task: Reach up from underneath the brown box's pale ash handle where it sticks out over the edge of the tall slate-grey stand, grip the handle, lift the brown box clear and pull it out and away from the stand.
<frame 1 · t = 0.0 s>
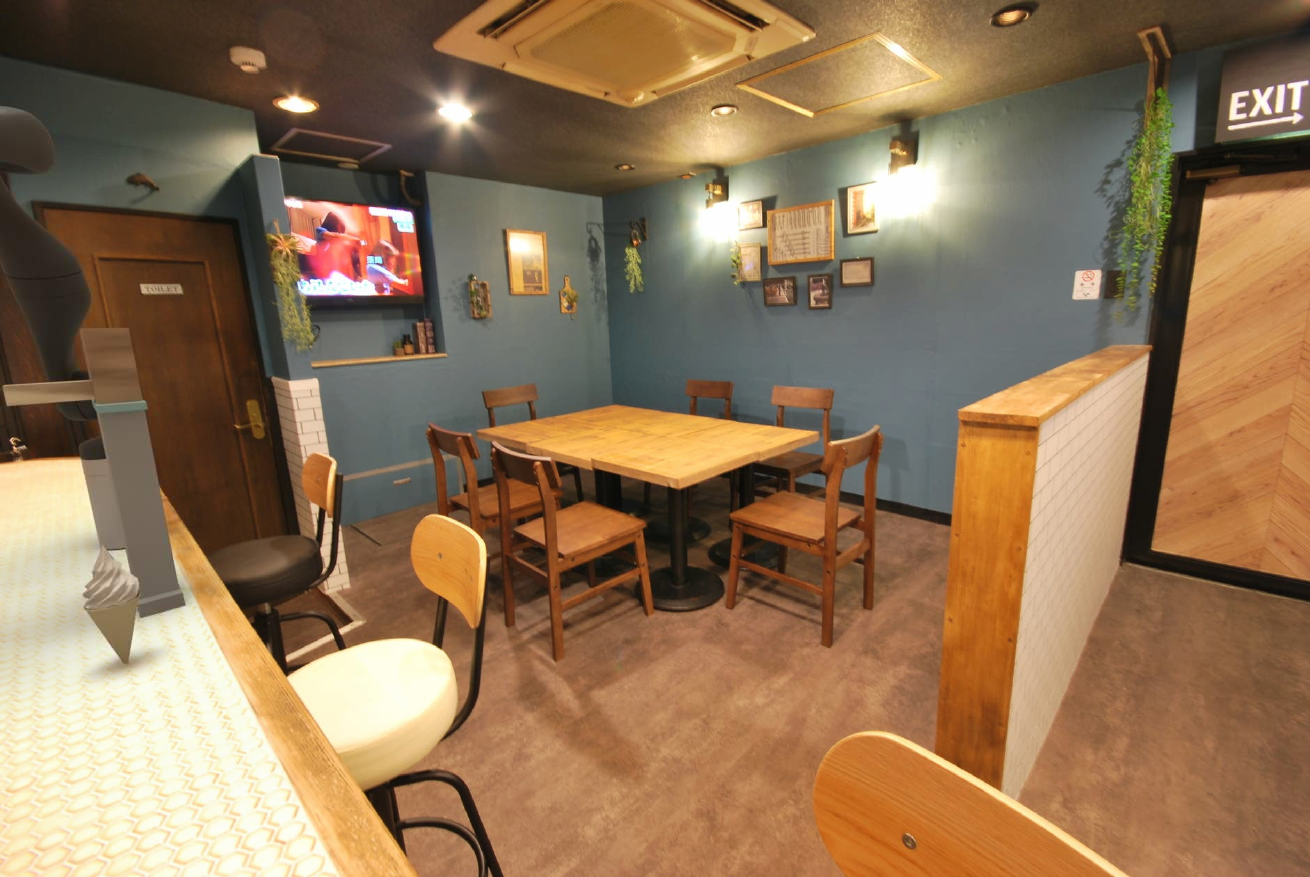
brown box: (117, 400, 82), point 30 cm above the table, touching stand
stand: (157, 596, 88), on the table
ice cream cone: (126, 663, 70), on the table
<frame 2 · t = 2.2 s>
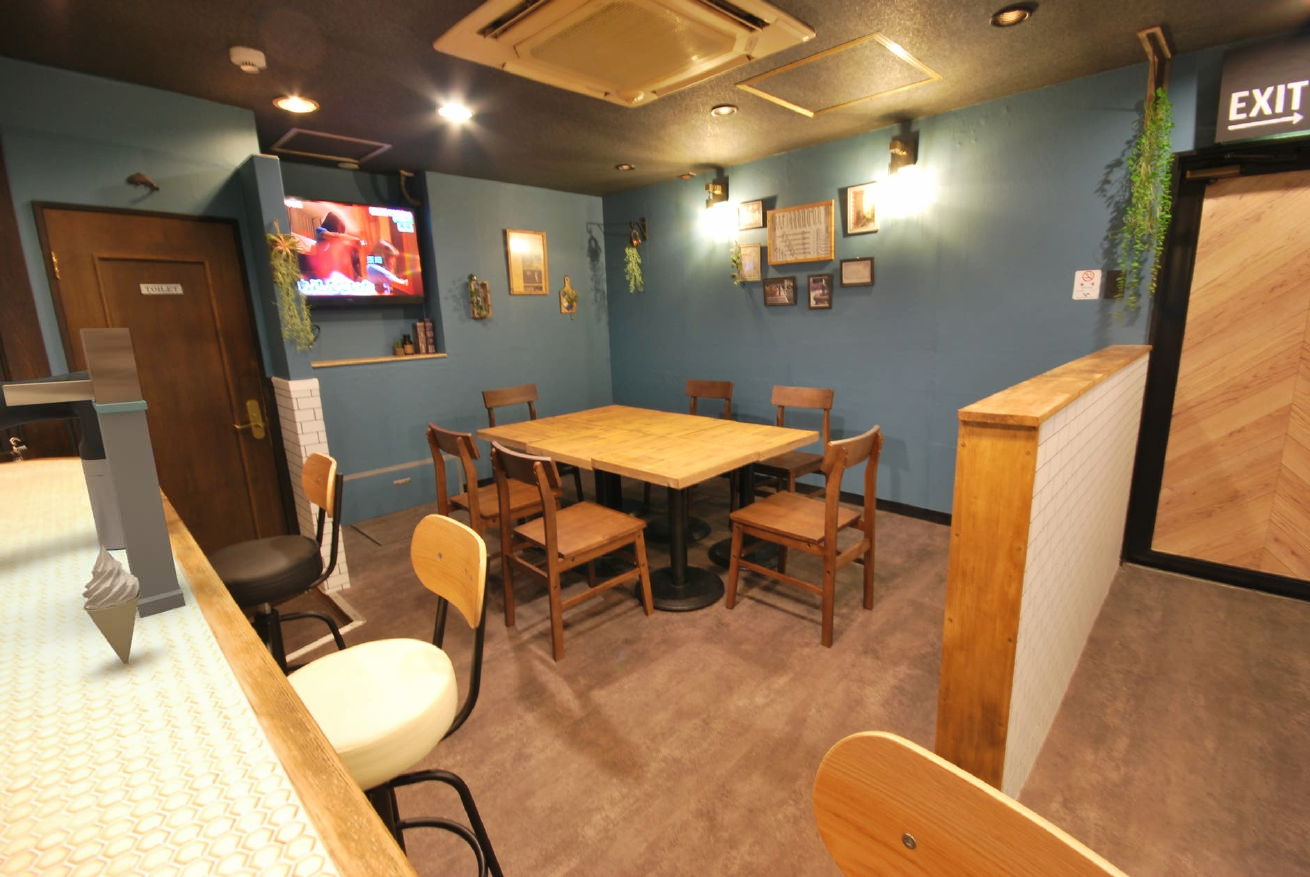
nothing on the table moved.
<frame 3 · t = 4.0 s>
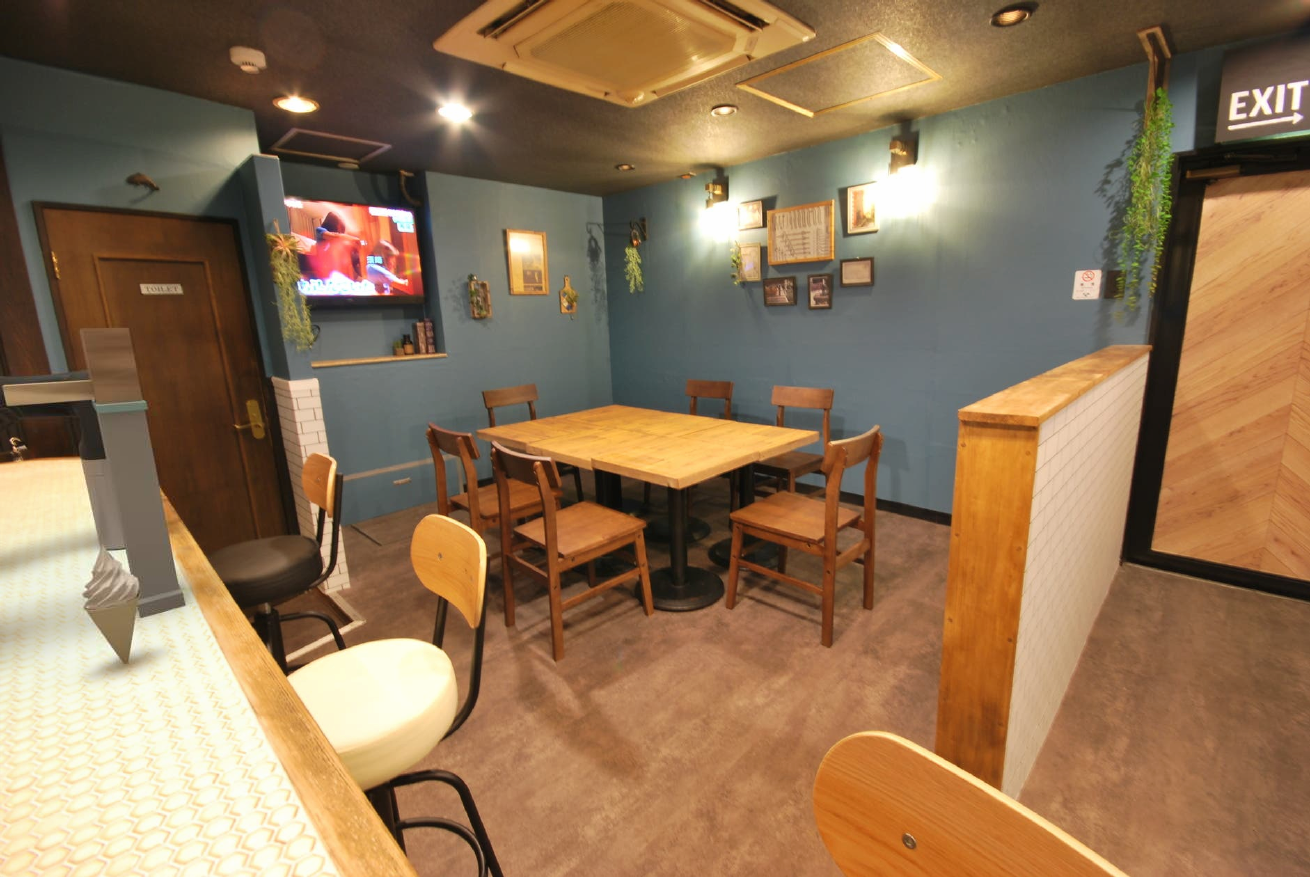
hand: (15, 410, 75), 30 cm above the table, tool pointing upward, fingers open, 8 cm apart
nothing on the table moved.
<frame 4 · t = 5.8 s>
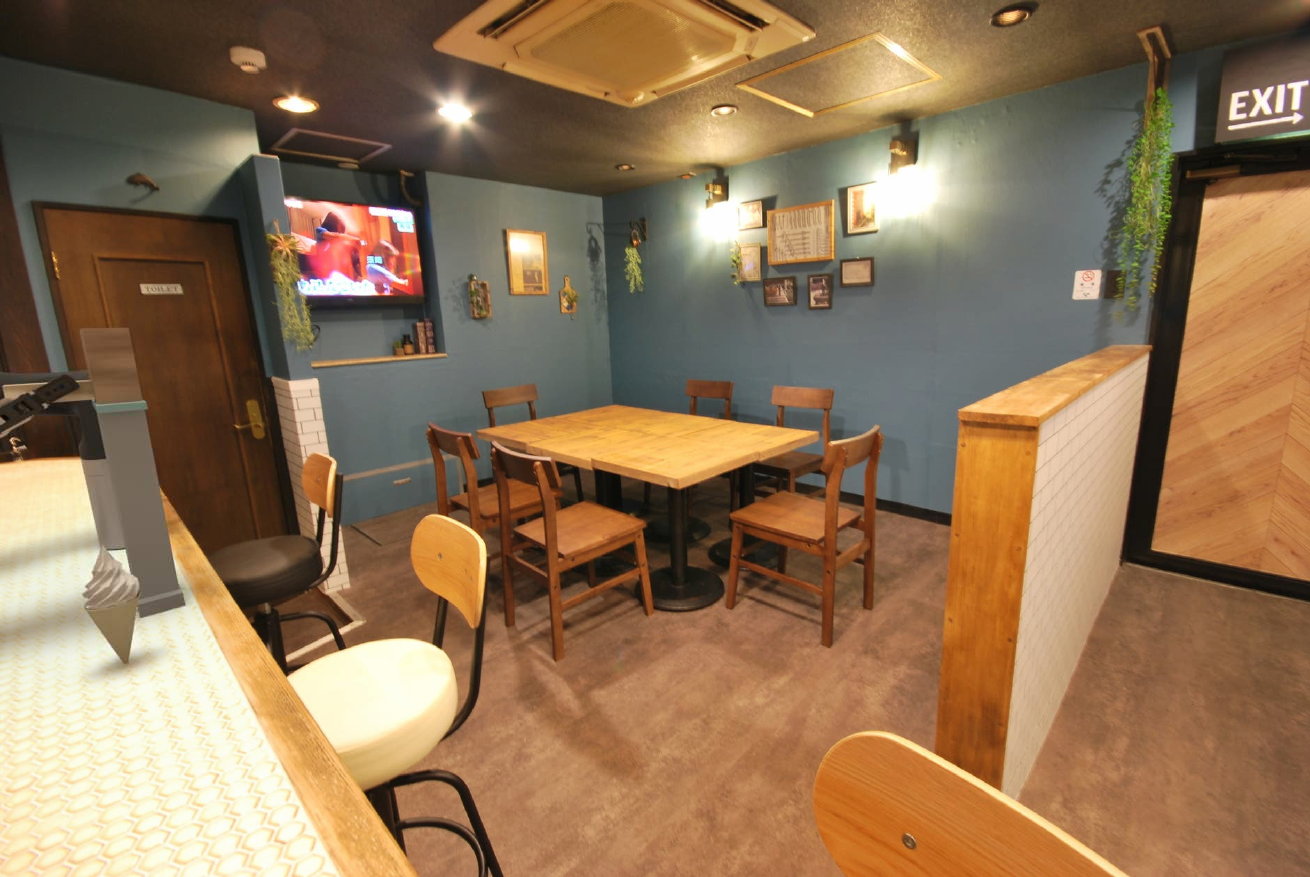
hand: (73, 379, 79), 33 cm above the table, tool pointing upward, fingers closed on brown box, 3 cm apart
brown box: (117, 400, 82), point 30 cm above the table, touching gripper, stand
everything else where it was.
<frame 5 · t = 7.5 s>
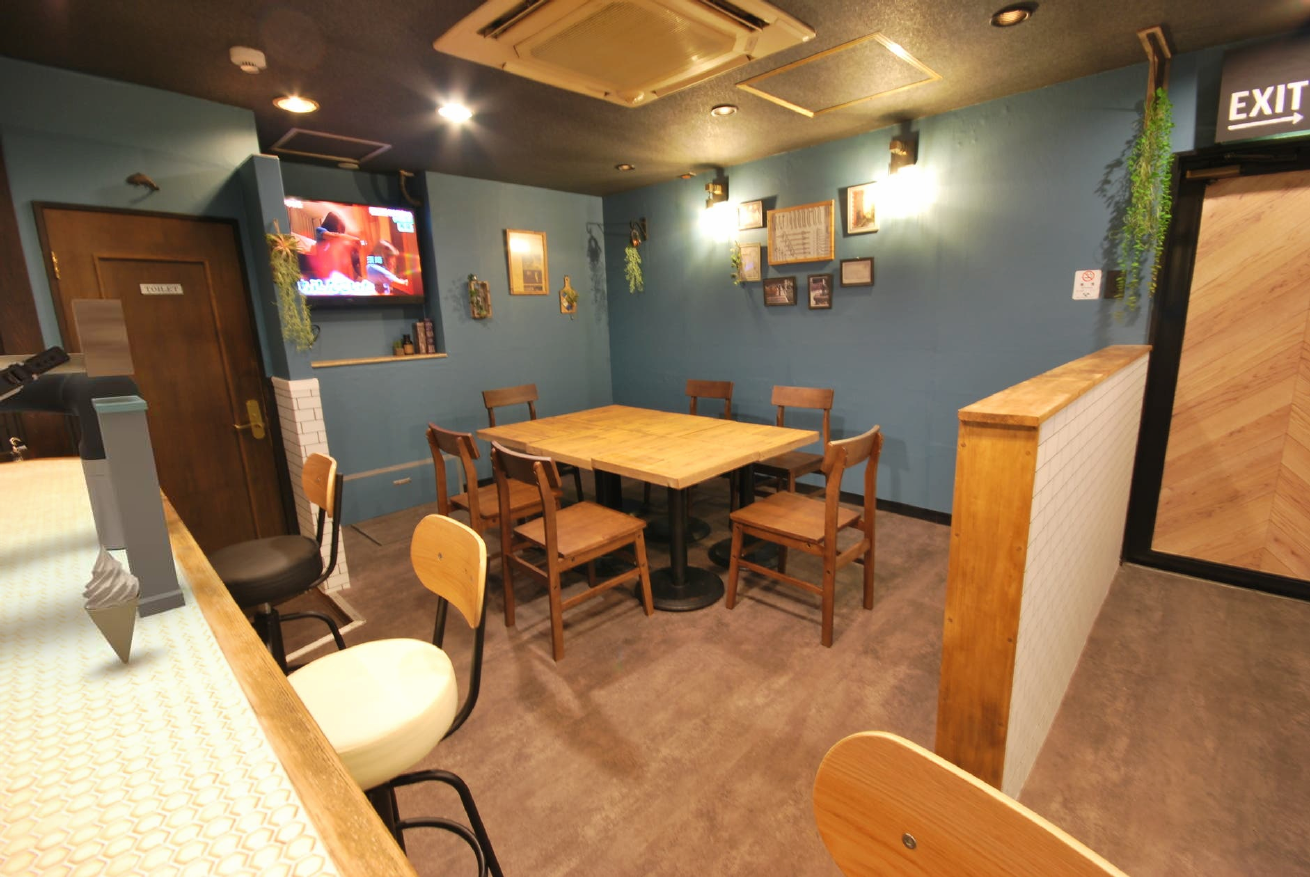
hand: (64, 352, 78), 37 cm above the table, tool pointing upward, fingers closed on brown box, 3 cm apart
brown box: (109, 374, 81), point 34 cm above the table, touching gripper
everything else where it was.
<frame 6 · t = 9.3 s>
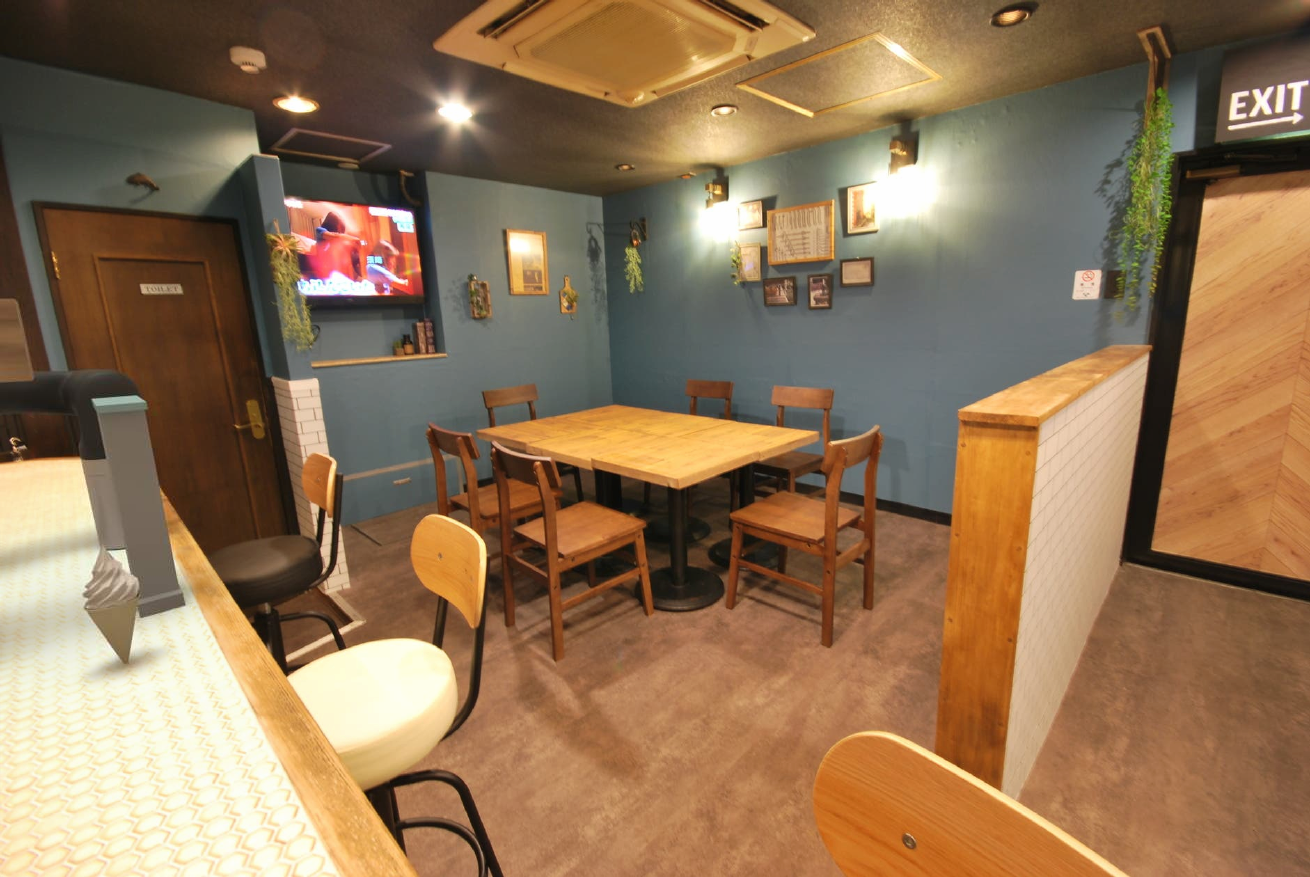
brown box: (7, 380, 75), point 34 cm above the table, touching gripper
everything else where it was.
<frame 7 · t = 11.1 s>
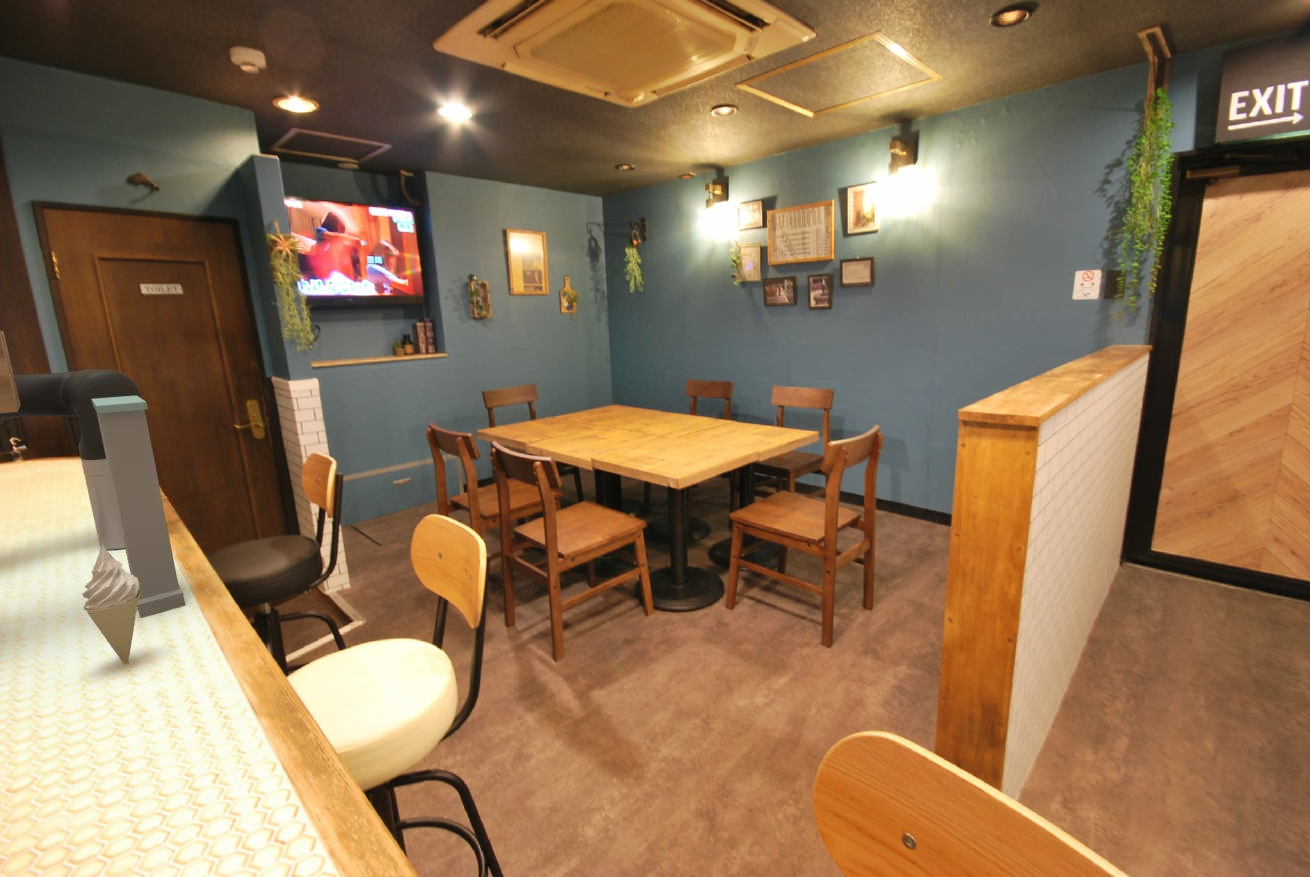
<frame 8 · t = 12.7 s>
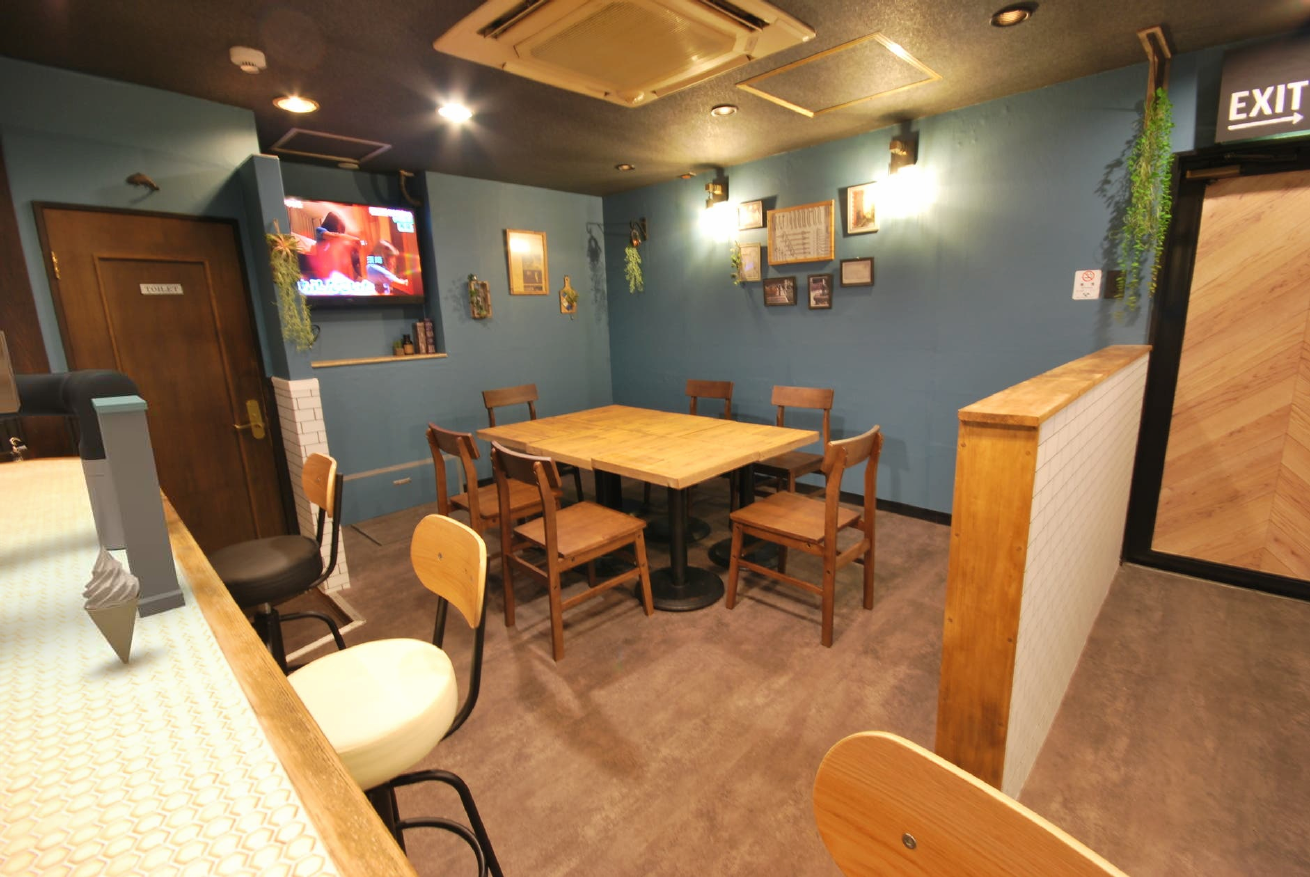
at the end: the gripper is holding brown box; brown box moved 11.9 cm from its start; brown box point 29.9 cm above the table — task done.
